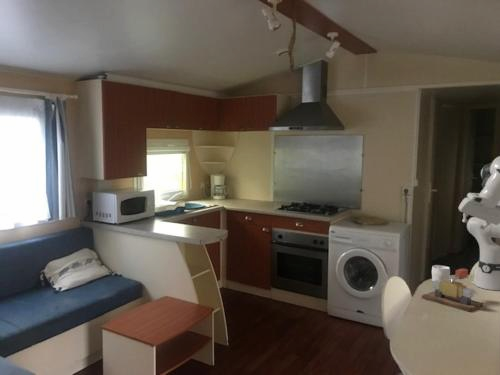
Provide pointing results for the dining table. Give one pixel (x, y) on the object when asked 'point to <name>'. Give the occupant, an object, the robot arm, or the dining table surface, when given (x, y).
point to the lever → (460, 274)
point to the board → (452, 302)
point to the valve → (453, 290)
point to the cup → (440, 273)
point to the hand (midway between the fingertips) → (472, 225)
